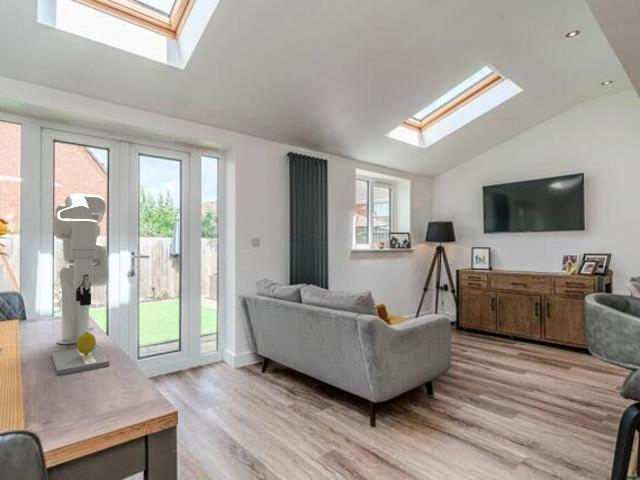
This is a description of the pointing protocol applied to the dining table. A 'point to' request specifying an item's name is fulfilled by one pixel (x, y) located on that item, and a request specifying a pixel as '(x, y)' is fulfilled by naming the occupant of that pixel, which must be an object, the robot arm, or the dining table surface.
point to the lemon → (86, 343)
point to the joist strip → (87, 358)
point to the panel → (77, 361)
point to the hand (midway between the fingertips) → (83, 302)
